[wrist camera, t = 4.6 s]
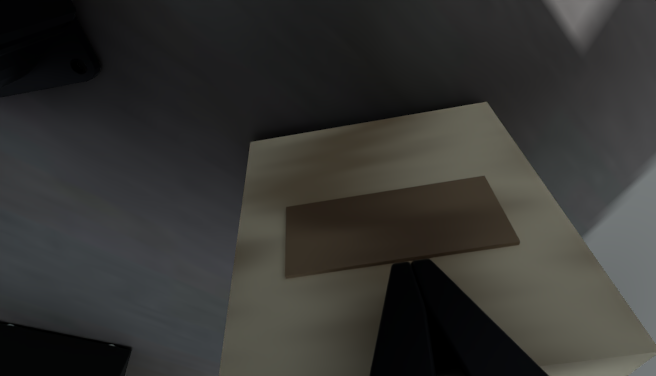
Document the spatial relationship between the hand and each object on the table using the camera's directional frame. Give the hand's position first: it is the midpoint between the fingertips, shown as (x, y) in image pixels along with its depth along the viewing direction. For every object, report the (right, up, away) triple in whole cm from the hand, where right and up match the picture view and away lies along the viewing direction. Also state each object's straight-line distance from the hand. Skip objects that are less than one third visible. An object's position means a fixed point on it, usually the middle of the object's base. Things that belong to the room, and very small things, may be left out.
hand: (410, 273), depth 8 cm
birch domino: (0, +3, +7) cm, 7 cm away
